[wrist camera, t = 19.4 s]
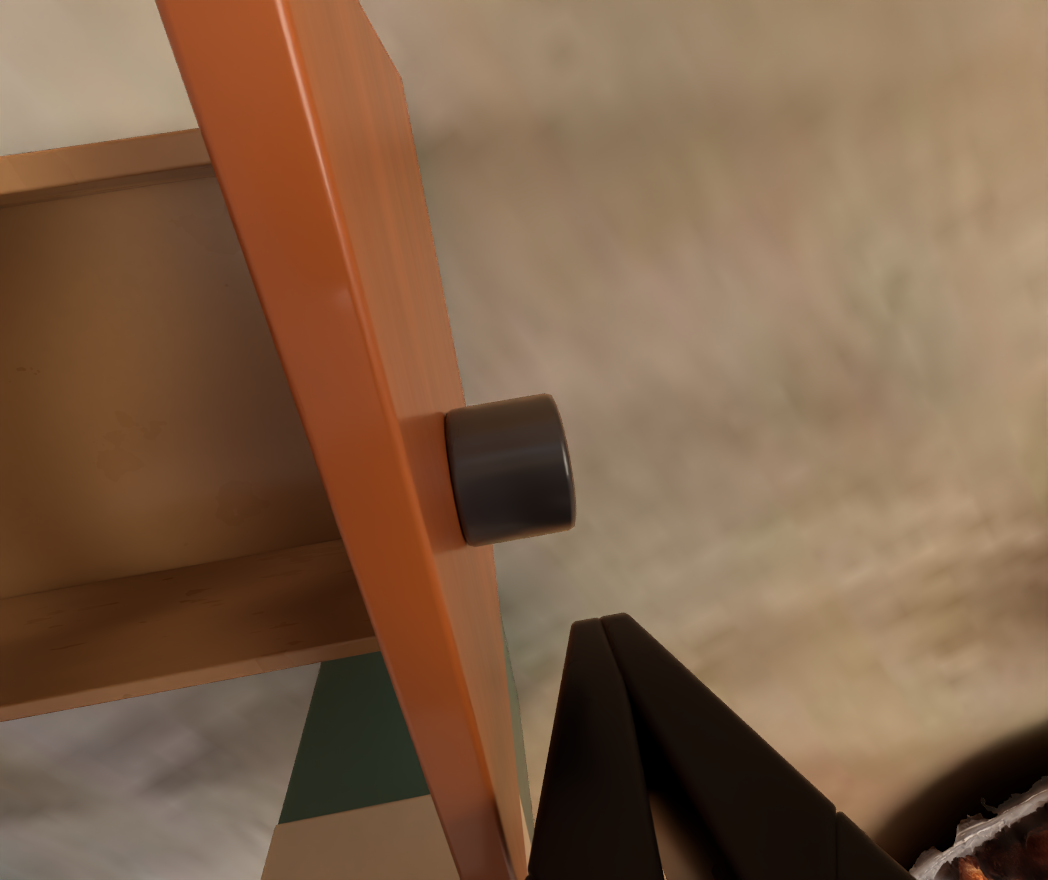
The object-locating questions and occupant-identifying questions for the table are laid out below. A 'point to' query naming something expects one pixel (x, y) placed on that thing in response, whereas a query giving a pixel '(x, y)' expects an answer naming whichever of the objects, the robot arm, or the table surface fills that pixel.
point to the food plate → (996, 843)
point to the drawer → (261, 411)
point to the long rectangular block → (368, 786)
